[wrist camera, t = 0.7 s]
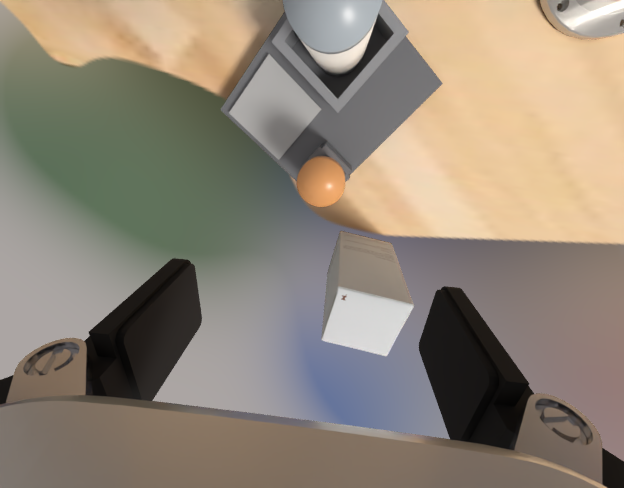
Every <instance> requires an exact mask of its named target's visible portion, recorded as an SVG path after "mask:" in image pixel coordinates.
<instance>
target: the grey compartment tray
mask: <svg viewBox="0 0 624 488" xmlns="http://www.w3.org/2000/svg"><path fill="white" fill-rule="evenodd" d="M407 34H408V30H407V29H406V28H405V27H404V25H403V24H402V23H401V21H400V20H399V19H398V18H397V16H396V15H395V14H394V12H393V11H392V10H391V9H390V7H389V6H388V5H387V3H386V2H385V1H384V0H382V4H381V7H380V10H379V13H378V16H377V19H376V22H375V24H374V27H373V30H372V33H371V36H370V39H369V42H368V45H367V47H366V50H365V53H364V56H363V58H362V60H361V62H360V64H359V65H358V66H357V68H356V69H355V70H353V71H352V72H351V73H349V74H347V75H344V76H339V77H336V76H331V75H328V74H327V73H325V72H324V71H323V70H322V69H321V68H320V67H319V66H318V64H317V63H316V62H315V60H314V59H313V57H312V56H311V54H310V53H309V51H308V50H307V49H306V47H305V46H304V44H303V43H302V41H301V40H300V39H299V37H298V36H297V34H296V33H295V31H294V30H293V28H292V26H291V25H290V23H289V21H288V18H287V16H286V13H285V12H284V14H283V15H282V17H281V18H280V20H279V21H278V23H277V24H276V26H275V27H274V29H273V30H272V32H271V34H270V35H269V37H268V38H267V40H266V41H265V43H264V44H263V46H262V47H261V49H260V50H259V52H258V53H257V55H256V56H255V58H254V59H253V61H252V62H251V64H250V65H249V67H248V68H247V70H246V71H245V73H244V74H243V76H242V77H241V79H240V81H239V82H238V84H237V85H236V87H235V88H234V90H233V91H232V93H231V94H230V96H229V97H228V99H227V100H226V102H225V103H224V105H223V106H222V108H221V111H222V112H223V113H224V114H225V115H227V116H228V117H229V118H230V119H231V120H232V121H233V122H234V123H235V124H236V125H237V126H238V127H239V128H240V129H241V130H243V131H244V132H245V133H246V134H247V135H248V136H249V137H250V138H251V139H252V140H253V141H254V142H255V143H256V144H257V145H258V146H260V147H261V148H262V149H263V150H264V151H265V152H266V153H267V154H268V155H269V156H270V157H271V158H272V159H273V160H275V161H276V162H277V163H278V164H279V165H280V166H281V167H282V168H283V169H284V170H285V171H286V172H287V173H288V174H289V175H290V176H291V177H293V178H294V179H295V180H296V181H297V177H298V174H299V171H300V170H301V168H302V167H303V165H304V164H305V163H306V162H307V161H308V160H310V159H311V158H314V157H317V156H327V157H331V158H333V159H334V160H336V161H337V162H338V163H339V164H340V165H341V167H342V168H343V170H344V174H345V182H346V181H347V180H348V179H349V178H350V174H351V173H352V172H353V171H354V170H355V169H356V168H357V167H358V166H359V165H360V164H361V163H362V162H363V161H364V160H366V159H367V158H368V157H369V156H370V155H371V154H372V153H373V152H374V151H375V150H376V149H377V148H378V147H379V146H380V145H381V144H382V143H383V142H384V141H385V140H386V139H387V138H388V137H389V136H390V135H391V134H392V133H393V132H394V131H395V130H396V129H397V128H398V127H399V126H400V125H401V124H402V123H403V122H404V121H405V120H406V119H407V118H408V117H409V116H410V115H411V114H412V113H413V112H414V111H415V110H416V109H417V108H418V107H419V106H420V105H421V104H422V103H423V102H424V101H425V100H426V99H427V98H428V97H429V96H430V95H431V94H432V93H433V92H435V91H436V90H437V89H438V88H439V87H440V86H441V85H442V84H443V83H442V82H441V81H440V80H439V78H438V77H437V76H436V74H435V73H434V72H433V71H432V69H431V68H430V67H429V66H428V64H427V63H426V62H425V60H424V59H423V58H422V57H421V55H420V54H419V53H418V52H417V50H416V49H415V48H414V46H413V45H412V44H411V43H410V41H409V40H408V39H407V38H406V35H407Z"/></svg>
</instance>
